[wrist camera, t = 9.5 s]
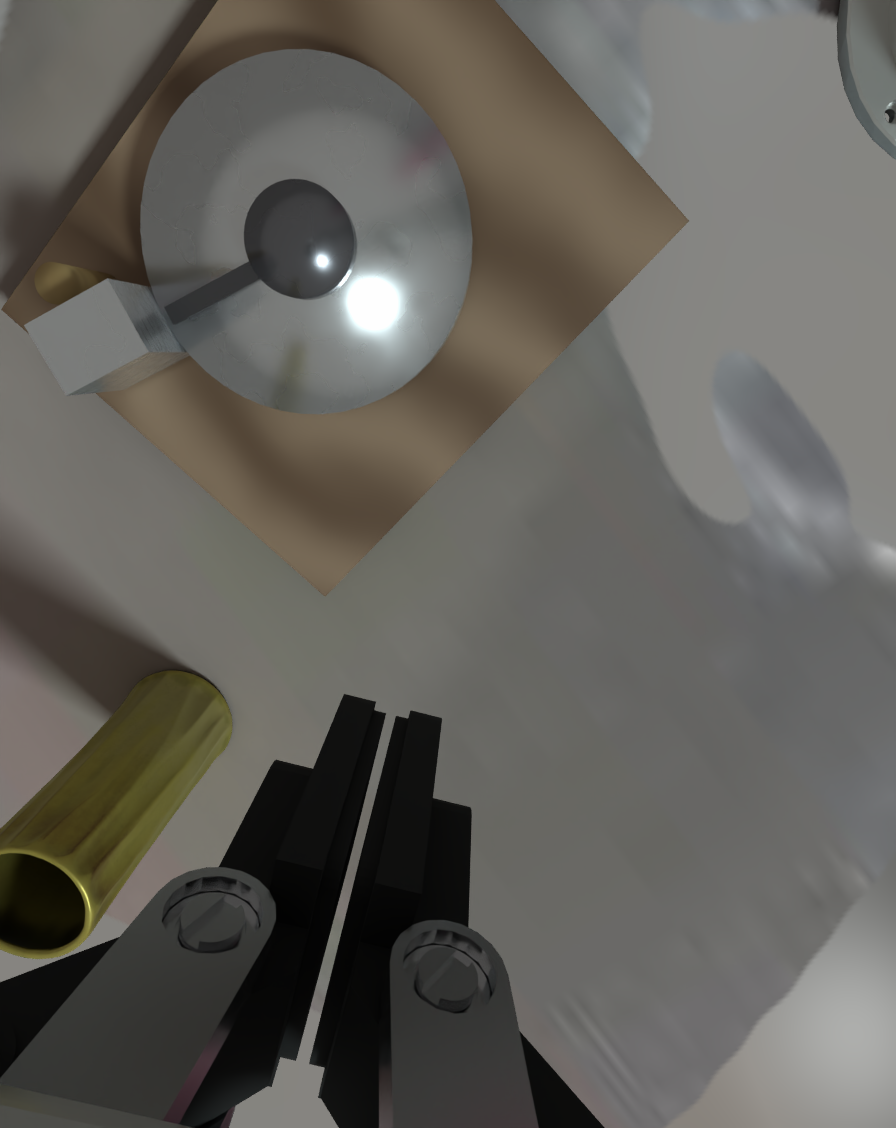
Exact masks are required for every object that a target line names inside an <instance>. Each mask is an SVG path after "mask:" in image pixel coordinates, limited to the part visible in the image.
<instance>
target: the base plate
mask: <svg viewBox="0 0 896 1128" xmlns="http://www.w3.org/2000/svg"><path fill="white" fill-rule="evenodd" d="M284 49H311V50H318V51H324V52H330V53H335V54H338V55H341V56H344V57H347V58H351V59H354V60H356V61H358V62H360V63H363V64H365V65H367V66H369V67H371V68H373V69H375V70H377V71H378V72H380V73H381V74H383V75H384V76H386V77H387V78H389V79H390V80H392V81H393V82H395V83H396V84H398V85H399V86H400V87H401V88H402V89H403V90H404V91H406V92H407V93H408V94H409V95H410V96H411V97H412V98H413V99H414V100H416V102H417V103H418V104H419V105H420V106H421V107H422V109H423V110H424V111H425V112H426V113H427V114H428V116H429V117H430V118H431V119H432V120H433V122H434V123H435V125H436V127H437V128H438V130H439V131H440V133H441V134H442V136H443V137H444V139H445V140H446V142H447V144H448V146H449V148H450V150H451V152H452V154H453V157H454V159H455V161H456V163H457V166H458V168H459V171H460V174H461V177H462V180H463V183H464V186H465V190H466V195H467V199H468V204H469V209H470V217H471V227H472V238H473V246H472V267H471V273H470V280H469V286H468V290H467V293H466V297H465V300H464V304H463V307H462V310H461V312H460V314H459V317H458V319H457V322H456V324H455V326H454V328H453V330H452V332H451V333H450V335H449V337H448V339H447V340H446V342H445V344H444V345H443V347H442V348H441V349H440V351H439V352H438V353H437V354H436V356H435V357H434V358H433V360H432V361H431V362H430V363H429V364H428V365H427V366H426V367H425V368H424V369H423V370H422V371H421V372H420V373H419V374H418V375H417V376H416V377H415V378H413V379H412V380H411V381H409V382H408V383H407V384H405V385H404V386H403V387H402V388H400V389H398V390H396V391H395V392H393V393H391V394H389V395H388V396H386V397H384V398H382V399H380V400H377V401H375V402H372V403H370V404H367V405H365V406H362V407H359V408H355V409H351V410H347V411H344V412H337V413H328V414H299V413H293V412H286V411H280V410H277V409H274V408H270V407H267V406H264V405H260V404H258V403H256V402H254V401H251V400H249V399H247V398H245V397H242V396H241V395H239V394H237V393H236V392H234V391H232V390H231V389H229V388H227V387H226V386H224V385H223V384H221V383H220V382H219V381H217V380H216V379H215V378H214V377H212V376H211V375H210V374H208V373H207V372H206V371H205V370H204V369H203V368H202V367H201V366H200V365H199V364H198V363H197V362H196V361H195V360H194V359H193V358H192V357H191V356H188V357H186V358H184V359H182V360H180V361H178V362H176V363H174V364H172V365H171V366H169V367H167V368H165V369H163V370H161V371H159V372H157V373H155V374H153V375H152V376H150V377H148V378H146V379H144V380H142V381H140V382H138V383H136V384H134V385H132V386H131V387H129V388H127V389H125V390H118V391H109V392H99V393H96V394H97V395H98V396H99V397H101V398H102V399H103V400H104V401H105V402H106V403H107V404H109V405H110V406H111V407H112V408H113V409H114V410H115V411H116V412H118V413H119V414H120V415H121V416H122V417H123V418H124V419H125V420H127V421H128V422H129V423H130V424H131V425H132V426H133V427H134V428H136V429H137V430H138V431H139V432H140V433H141V434H142V435H143V436H145V437H146V438H147V439H148V440H149V441H150V442H151V443H152V444H154V445H155V446H156V447H157V448H158V449H159V450H160V451H161V452H163V453H164V454H165V455H166V456H167V457H168V458H169V459H170V460H172V461H173V462H174V463H175V464H176V465H177V466H178V467H179V468H181V469H182V470H183V471H184V472H185V473H186V474H187V475H189V476H190V477H191V478H192V479H193V480H194V481H195V482H196V483H198V484H199V485H200V486H201V487H202V488H203V489H204V490H205V491H207V492H208V493H209V494H210V495H211V496H212V497H213V498H214V499H216V500H217V501H218V502H219V503H220V504H221V505H222V506H223V507H225V508H226V509H227V510H228V511H229V512H230V513H231V514H232V515H234V516H235V517H236V518H237V519H238V520H239V521H240V522H241V523H243V524H244V525H245V526H246V527H247V528H248V529H249V530H250V531H252V532H253V533H254V534H255V535H256V536H257V537H258V538H260V539H261V540H262V541H263V542H264V543H265V544H266V545H267V546H269V547H270V548H271V549H272V550H273V551H274V552H275V553H276V554H278V555H279V556H280V557H281V558H282V559H283V560H284V561H285V562H287V563H288V564H289V565H290V566H291V567H292V568H293V569H294V570H296V571H297V572H298V573H299V574H300V575H301V576H302V577H303V578H305V579H306V580H307V581H308V582H309V583H310V584H311V585H312V586H314V587H315V588H316V589H317V590H318V591H319V592H320V593H321V594H323V595H324V596H326V595H327V594H328V593H329V592H330V591H331V590H332V589H333V588H334V587H335V586H336V585H337V584H338V583H339V582H340V581H341V580H342V579H343V578H344V577H345V576H346V575H347V574H348V573H349V572H350V571H351V569H352V568H353V567H354V566H355V565H356V564H357V563H358V562H359V561H360V560H361V559H362V558H363V557H364V556H365V555H366V554H367V553H368V552H369V551H370V550H371V549H372V548H373V547H374V546H375V545H376V544H377V543H378V542H379V541H380V540H381V539H382V537H383V536H384V535H385V534H386V533H387V532H388V531H389V530H390V529H391V528H392V527H393V526H394V525H395V524H396V523H397V522H398V521H399V520H400V519H401V518H402V517H403V516H404V515H405V514H406V513H407V512H408V511H409V510H410V509H411V508H412V507H413V505H414V504H415V503H416V502H417V501H418V500H419V499H420V498H421V497H422V496H423V495H424V494H425V493H426V492H427V491H428V490H429V489H430V488H431V487H432V486H433V485H434V484H435V483H436V482H437V481H438V480H439V479H440V478H441V477H442V476H443V475H444V473H445V472H446V471H447V470H448V469H449V468H450V467H451V466H452V465H453V464H454V463H455V462H456V461H457V460H458V459H459V458H460V457H461V456H462V455H463V454H464V453H465V452H466V451H467V450H468V449H469V448H470V447H471V446H472V445H473V444H474V443H475V441H476V440H477V439H478V438H479V437H480V436H481V435H482V434H483V433H484V432H485V431H486V430H487V429H488V428H489V427H490V426H491V425H492V424H493V423H494V422H495V421H496V420H497V419H498V418H499V417H500V416H501V415H502V414H503V413H504V412H505V411H506V410H507V408H508V407H509V406H510V405H511V404H512V403H513V402H514V401H515V400H516V399H517V398H518V397H519V396H520V395H521V394H522V393H523V392H524V391H525V390H526V389H527V388H528V387H529V386H530V385H531V384H532V383H533V382H534V381H535V380H536V379H537V378H538V376H539V375H540V374H541V373H542V372H543V371H544V370H545V369H546V368H547V367H548V366H549V365H550V364H551V363H552V362H553V361H554V360H555V359H556V358H557V357H558V356H559V355H560V354H561V353H562V352H563V351H564V350H565V349H566V348H567V347H568V346H569V344H570V343H571V342H572V341H573V340H574V339H575V338H576V337H577V336H578V335H579V334H580V333H581V332H582V331H583V330H584V329H585V328H586V327H587V326H588V325H589V324H590V323H591V322H592V321H593V320H594V319H595V318H596V317H597V316H598V315H599V314H600V312H601V311H602V310H603V309H604V308H605V307H606V306H607V305H608V304H609V303H610V302H611V301H612V300H613V299H614V298H615V297H616V296H617V295H618V294H619V293H620V292H621V291H622V290H623V289H624V288H625V287H626V286H627V285H628V284H629V283H630V281H631V280H632V279H633V278H634V277H635V276H636V275H637V274H638V273H639V272H640V271H641V270H642V269H643V268H644V267H645V266H646V265H647V264H648V263H649V262H650V261H651V260H652V259H653V258H654V257H655V256H656V255H657V253H659V251H661V250H662V248H663V247H664V246H665V245H666V244H667V243H668V242H669V241H670V240H671V239H672V238H673V237H674V236H675V235H676V234H677V233H678V232H679V231H680V230H681V229H682V228H683V227H684V226H685V225H686V223H688V221H689V220H688V219H687V218H686V217H685V216H684V215H683V213H682V212H681V211H680V210H679V209H678V208H677V207H676V206H675V204H673V202H672V201H671V200H670V199H669V198H668V196H667V195H666V194H665V193H664V192H663V191H662V190H661V189H660V187H659V186H658V185H657V184H656V183H655V182H654V181H653V179H652V178H651V177H650V176H649V175H648V174H647V173H646V172H645V170H644V169H643V168H642V167H641V166H640V165H639V164H638V162H637V161H636V160H635V159H634V158H633V157H632V156H631V154H630V153H629V152H628V151H627V150H626V149H625V148H624V146H623V145H622V144H621V143H620V142H619V141H618V140H617V139H616V137H615V136H614V135H613V134H612V133H611V132H610V131H609V129H608V128H607V127H606V126H605V125H604V124H603V123H602V122H601V120H600V119H599V118H598V117H597V116H596V115H595V114H594V112H593V111H592V110H591V109H590V108H589V107H588V106H587V104H586V103H585V102H584V101H583V100H582V99H581V98H580V97H579V95H578V94H577V93H576V92H575V91H574V90H573V89H572V87H571V86H570V85H569V84H568V83H567V82H566V81H565V80H564V78H563V77H562V76H561V75H560V74H559V73H558V72H557V70H556V69H555V68H554V67H553V66H552V65H551V64H550V63H549V61H548V60H547V59H546V58H545V57H544V56H543V55H542V53H541V52H540V51H539V50H538V49H537V48H536V47H535V45H534V44H533V43H532V42H531V41H530V40H529V39H528V38H527V36H526V35H525V34H524V33H523V32H522V31H521V30H520V28H519V27H518V26H517V25H516V24H515V23H514V22H513V21H512V19H511V18H510V17H509V16H508V15H507V14H506V13H505V11H504V10H503V9H502V8H501V7H500V6H499V5H498V3H497V2H496V1H495V0H218V1H217V2H216V4H215V5H214V7H213V8H212V10H211V11H210V12H209V14H208V15H207V17H206V18H205V20H204V21H203V22H202V24H201V25H200V27H199V28H198V30H197V31H196V32H195V34H194V35H193V37H192V38H191V40H190V41H189V42H188V44H187V45H186V47H185V48H184V49H183V51H182V52H181V54H180V55H179V57H178V58H177V59H176V61H175V62H174V64H173V65H172V67H171V68H170V69H169V71H168V72H167V74H166V75H165V77H164V78H163V79H162V81H161V82H160V84H159V85H158V87H157V88H156V89H155V91H154V92H153V94H152V95H151V97H150V98H149V99H148V101H147V102H146V104H145V105H144V107H143V108H142V109H141V111H140V112H139V114H138V115H137V117H136V118H135V119H134V121H133V122H132V124H131V125H130V126H129V128H128V129H127V131H126V132H125V134H124V135H123V136H122V138H121V139H120V141H119V142H118V144H117V145H116V146H115V148H114V149H113V151H112V152H111V154H110V155H109V156H108V158H107V159H106V161H105V162H104V164H103V165H102V166H101V168H100V169H99V171H98V172H97V174H96V175H95V176H94V178H93V179H92V181H91V182H90V184H89V185H88V186H87V188H86V189H85V191H84V192H83V194H82V195H81V196H80V198H79V199H78V201H77V202H76V203H75V205H74V206H73V208H72V209H71V211H70V212H69V213H68V215H67V216H66V218H65V219H64V221H63V222H62V223H61V225H60V226H59V228H58V229H57V231H56V232H55V233H54V235H53V236H52V238H51V239H50V241H49V242H48V243H47V245H46V246H45V248H44V249H43V251H42V252H41V253H40V255H39V256H38V258H37V259H36V261H35V262H34V263H33V265H32V266H31V268H30V269H29V270H28V272H27V273H26V275H25V276H24V278H23V279H22V280H21V282H20V283H19V285H18V286H17V288H16V289H15V290H14V292H13V293H12V295H11V296H10V298H9V299H8V300H7V302H6V303H5V305H4V306H3V308H2V309H1V310H3V311H4V312H5V313H6V314H7V315H8V316H9V317H10V318H12V319H13V320H14V321H15V322H16V323H17V324H18V325H19V326H21V327H22V328H23V329H24V330H25V331H26V332H27V333H28V331H27V330H26V328H25V326H24V325H25V324H27V323H29V322H30V321H32V320H34V319H36V318H37V317H39V316H41V315H43V314H45V313H46V312H48V311H50V310H52V309H54V308H55V307H57V306H59V305H61V304H63V303H64V302H66V301H68V300H70V299H71V298H73V297H75V296H77V295H79V294H80V293H82V292H84V291H86V290H88V289H89V288H91V287H93V286H95V285H97V284H98V283H100V282H102V281H104V280H105V279H107V278H108V279H113V280H118V281H123V282H128V283H133V284H138V285H143V286H148V287H151V285H150V282H149V279H148V276H147V272H146V267H145V263H144V258H143V253H142V243H141V233H140V218H141V201H142V194H143V187H144V181H145V177H146V174H147V170H148V166H149V163H150V159H151V157H152V154H153V152H154V150H155V147H156V145H157V142H158V140H159V138H160V136H161V134H162V132H163V131H164V129H165V127H166V126H167V124H168V122H169V120H170V119H171V117H172V116H173V115H174V113H175V112H176V111H177V109H178V108H179V107H180V106H181V104H182V103H183V102H184V101H185V99H186V98H187V97H188V96H189V95H190V94H192V93H193V92H194V91H195V90H196V89H197V88H198V87H199V86H200V85H201V84H202V83H203V82H205V81H206V80H208V79H209V78H210V77H212V76H213V75H215V74H216V73H217V72H219V71H220V70H222V69H224V68H226V67H228V66H230V65H232V64H234V63H236V62H238V61H240V60H242V59H245V58H248V57H252V56H255V55H258V54H261V53H265V52H271V51H278V50H284Z"/></svg>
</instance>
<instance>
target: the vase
mask: <svg viewBox="0 0 896 1128" xmlns="http://www.w3.org/2000/svg"><path fill="white" fill-rule="evenodd" d="M231 733H232V717H231V713H230V710H229V707H228V705H227V703H226V701H225V699H224V698H223V696H222V695H221V694H220V692H219V691H218V690H217V689H216V688H215V687H214V686H213V685H211V684H210V683H209V682H207V681H206V680H204V679H202V678H201V677H199V676H196V675H194V674H191V673H187V672H183V671H175V670H170V671H162V672H158V673H155V674H152V675H150V676H147V677H146V678H144V679H142V680H141V681H140V682H139V683H138V684H137V685H136V686H135V687H134V688H133V689H132V691H131V692H130V693H129V695H128V697H127V698H126V699H125V701H124V702H123V703H122V705H121V706H120V707H119V708H118V710H117V711H116V712H115V713H114V714H113V715H112V716H111V717H110V719H109V720H108V721H107V722H106V723H105V724H104V725H103V726H102V727H101V728H100V730H99V731H98V732H97V733H96V734H95V735H94V736H93V737H92V738H91V739H90V741H89V742H88V743H87V744H86V745H85V746H84V747H83V748H82V749H81V750H80V751H79V752H78V753H77V754H76V755H75V756H74V757H73V758H72V759H71V760H70V761H69V762H68V763H67V764H66V765H65V766H64V767H63V768H62V769H61V770H60V771H59V772H58V773H57V774H56V775H55V776H54V777H53V778H52V779H51V780H50V781H49V782H48V783H47V784H46V785H45V786H44V787H43V788H42V789H41V790H40V791H39V792H38V793H37V794H36V795H35V796H34V797H33V798H32V799H31V800H30V801H29V802H28V803H27V804H26V805H25V806H23V807H22V808H21V809H20V810H19V811H18V812H17V813H16V814H15V815H14V816H13V817H12V818H11V819H10V820H9V821H8V822H7V823H6V824H5V825H4V826H3V827H2V828H1V829H0V950H3V951H5V952H8V953H11V954H13V955H17V956H20V957H24V958H32V959H46V958H54V957H59V956H62V955H65V954H67V953H69V952H71V951H73V950H74V949H76V948H77V947H78V946H80V945H81V944H82V943H83V942H84V941H85V940H86V938H87V937H88V936H89V935H90V934H91V932H92V931H93V930H94V928H95V927H96V925H97V923H98V922H99V921H100V919H101V918H102V916H103V915H104V913H105V912H106V910H107V909H108V907H109V906H110V904H111V903H112V902H113V900H114V899H115V897H116V896H117V894H118V893H119V891H120V890H121V888H122V887H123V885H124V884H125V883H126V881H127V880H128V878H129V877H130V875H131V874H132V872H133V871H134V869H135V868H136V867H137V865H138V864H139V862H140V861H141V860H142V858H143V857H144V855H145V854H146V853H147V851H148V850H149V849H150V847H151V846H152V844H153V843H154V842H155V840H156V839H157V838H158V836H159V835H160V833H161V832H162V831H163V829H164V828H165V826H166V825H167V823H168V822H169V821H170V819H171V818H172V816H173V815H174V814H175V812H176V811H177V810H178V808H179V807H180V806H181V804H182V803H183V801H184V800H185V799H186V797H187V796H188V794H189V793H190V792H191V790H192V789H193V788H194V787H195V785H196V784H197V783H198V782H199V780H200V779H201V778H202V776H203V775H204V774H205V773H206V771H207V770H208V768H209V767H210V765H211V764H212V763H213V761H214V760H215V759H216V758H217V757H218V756H219V755H220V754H221V753H222V752H223V751H224V750H225V748H226V747H227V745H228V743H229V740H230V737H231Z"/></svg>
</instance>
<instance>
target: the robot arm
mask: <svg viewBox="0 0 896 1128" xmlns="http://www.w3.org/2000/svg"><path fill="white" fill-rule="evenodd" d="M837 43H838V61H839V66H840V71H841V76H842V80H843V85H844V89H845V92H846V94H847V97H848V99H849V101H850V103H851V106H852V108H853V110H854V113H855V115H856V117H857V119H858V120H859V121H860V123H861V124H862V126H863V127H864V128H865V130H866V131H867V133H868V134H869V135H870V137H871V138H872V140H874V141H875V142H876V143H877V144H878V145H879V146H880V147H881V148H882V149H884V150H885V151H886V152H887V153H888V154H889V155H890V156H892V157H893V158H894V159H896V0H840V7H839V15H838V22H837ZM885 113H887V114H888V115H889V122H887V121H886V118H885ZM375 703H376V702H374V701H370V700H366V699H362V698H358V697H354V696H350V695H346V694H344V696H343V698H342V700H341V703H340V705H339V707H338V710H337V712H336V715H335V717H334V720H333V722H332V724H331V727H330V729H329V732H328V734H327V737H326V739H325V741H324V744H323V746H322V749H321V751H320V754H319V756H318V758H317V761H316V763H315V766H314V768H313V769H312V768H307V767H303V766H299V765H295V764H291V763H287V762H283V761H279V760H275V761H274V762H273V764H272V765H271V767H270V769H269V771H268V773H267V775H266V777H265V779H264V781H263V782H262V784H261V786H260V788H259V790H258V792H257V794H256V796H255V798H254V800H253V802H252V804H251V806H250V808H249V810H248V811H247V813H246V815H245V817H244V819H243V821H242V823H241V825H240V827H239V829H238V831H237V833H236V835H235V837H234V839H233V840H232V842H231V844H230V846H229V848H228V850H227V852H226V854H225V856H224V858H223V860H222V862H221V864H220V866H219V867H206V868H202V869H198V870H193V871H189V872H186V873H184V874H182V875H180V876H178V877H176V878H174V879H172V880H171V881H170V882H169V883H167V884H166V885H165V886H164V887H163V888H162V889H161V890H159V891H158V892H157V894H156V895H155V896H154V897H153V898H152V899H151V901H150V902H149V903H148V904H147V905H146V907H145V908H144V909H143V910H142V911H141V912H140V914H139V915H138V916H137V917H136V918H135V920H134V921H133V922H132V923H131V924H130V925H129V927H128V928H127V929H126V930H125V931H124V933H123V934H122V935H121V936H120V937H118V938H116V939H113V940H110V941H108V942H105V943H102V944H100V945H97V946H94V947H92V948H89V949H87V950H84V951H82V952H79V953H76V954H74V955H71V956H68V957H66V958H63V959H60V960H58V961H55V962H52V963H50V964H47V965H45V966H42V967H39V968H37V969H34V970H32V971H29V972H26V973H24V974H21V975H18V976H16V977H14V978H11V979H8V980H5V981H3V982H0V1128H229V1126H230V1123H231V1120H232V1117H233V1114H234V1111H235V1106H236V1105H237V1104H239V1103H240V1102H242V1101H244V1100H245V1099H247V1098H249V1097H250V1096H252V1095H254V1094H255V1093H257V1092H259V1091H260V1090H262V1089H263V1088H265V1087H267V1086H270V1087H272V1083H273V1080H274V1077H275V1073H276V1070H277V1066H278V1063H279V1059H280V1057H283V1058H287V1059H291V1060H295V1061H296V1058H297V1055H298V1051H299V1047H300V1044H301V1039H302V1036H303V1032H304V1029H305V1025H306V1021H307V1017H308V1014H309V1010H310V1006H311V1002H312V999H313V995H314V991H315V987H316V984H317V980H318V976H319V972H320V969H321V965H322V961H323V957H324V954H325V950H326V946H327V942H328V939H329V935H330V931H331V928H332V924H333V920H334V916H335V913H336V909H337V905H338V901H339V898H340V894H341V890H342V886H343V883H344V879H345V875H346V871H347V868H348V864H349V860H350V856H351V852H352V848H353V844H354V840H355V836H356V832H357V828H358V824H359V820H360V816H361V812H362V808H363V804H364V800H365V796H366V792H367V788H368V784H369V780H370V776H371V772H372V768H373V764H374V760H375V756H376V752H377V748H378V744H379V740H380V736H381V732H382V728H383V724H384V720H385V715H386V713H383V712H379V711H375V710H374V708H375ZM441 723H442V718H439V717H435V716H431V715H427V714H423V713H419V712H415V711H410V714H409V718H408V719H407V718H403V717H399V716H396V718H395V722H394V726H393V730H392V734H391V738H390V742H389V746H388V750H387V754H386V758H385V762H384V766H383V769H382V773H381V777H380V781H379V785H378V789H377V793H376V797H375V801H374V805H373V809H372V813H371V817H370V821H369V825H368V829H367V833H366V836H365V840H364V844H363V848H362V852H361V856H360V860H359V864H358V868H357V872H356V876H355V880H354V884H353V888H352V892H351V897H350V901H349V905H348V909H347V913H346V917H345V921H344V925H343V929H342V933H341V937H340V941H339V945H338V949H337V953H336V957H335V961H334V965H333V969H332V973H331V977H330V981H329V985H328V989H327V994H326V998H325V1002H324V1006H323V1010H322V1014H321V1018H320V1022H319V1026H318V1030H317V1034H316V1038H315V1042H314V1046H313V1050H312V1054H311V1058H310V1064H312V1065H317V1066H321V1067H325V1070H324V1074H323V1078H322V1083H321V1087H320V1092H319V1096H318V1098H321V1099H322V1101H323V1102H324V1104H325V1106H326V1107H327V1109H328V1110H329V1112H330V1114H331V1116H332V1117H333V1119H334V1120H335V1122H336V1124H337V1125H338V1127H339V1128H604V1127H603V1126H602V1124H601V1123H600V1122H599V1121H598V1120H597V1119H596V1118H595V1116H594V1115H593V1114H592V1113H591V1112H590V1111H589V1110H588V1108H587V1107H586V1106H585V1105H584V1104H583V1103H582V1102H581V1100H580V1099H579V1098H578V1097H577V1096H576V1095H575V1094H574V1093H573V1091H572V1090H571V1089H570V1088H569V1087H568V1086H567V1085H566V1083H565V1082H564V1081H563V1080H562V1079H561V1078H560V1077H559V1075H558V1074H557V1073H556V1072H555V1071H554V1070H553V1069H552V1067H551V1066H550V1065H549V1064H548V1063H547V1062H546V1061H545V1060H544V1058H543V1057H542V1056H541V1055H540V1054H539V1053H538V1052H537V1050H536V1049H535V1048H534V1047H533V1046H532V1045H531V1044H530V1042H529V1041H528V1040H527V1039H526V1038H525V1037H524V1036H523V1034H522V1033H521V1032H520V1031H519V1027H518V1022H517V1017H516V1012H515V1007H514V1002H513V997H512V992H511V987H510V982H509V977H508V973H507V971H506V968H505V965H504V962H503V960H502V958H501V957H500V955H499V954H498V952H497V951H496V950H495V948H494V947H493V945H492V944H491V943H489V942H488V941H487V940H486V939H485V938H484V937H482V936H481V935H480V934H479V933H478V932H476V931H474V930H472V929H470V928H468V919H469V885H470V852H471V818H472V814H471V808H470V807H467V806H463V805H459V804H455V803H451V802H447V801H442V800H438V799H434V798H433V791H434V783H435V774H436V766H437V757H438V749H439V740H440V732H441Z"/></svg>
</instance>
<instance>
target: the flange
mask: <svg viewBox="0 0 896 1128" xmlns="http://www.w3.org/2000/svg"><path fill="white" fill-rule="evenodd" d="M140 233H141V243H142V253H143V258H144V263H145V267H146V272H147V276H148V279H149V282H150V285H151V287H148V286H143V285H138V284H133V283H128V282H123V281H118V280H113V279H108V278H107V279H105V280H104V281H102V282H100V283H98V284H97V285H95V286H93V287H91V288H89V289H88V290H86V291H84V292H82V293H80V294H79V295H77V296H75V297H73V298H71V299H70V300H68V301H66V302H64V303H63V304H61V305H59V306H57V307H55V308H54V309H52V310H50V311H48V312H46V313H45V314H43V315H41V316H39V317H37V318H36V319H34V320H32V321H30V322H29V323H27V324H25V325H24V326H25V328H26V330H27V331H28V333H29V335H30V336H31V338H32V340H33V341H34V343H35V345H36V346H37V348H38V350H39V351H40V353H41V355H42V356H43V358H44V360H45V362H46V363H47V365H48V367H49V368H50V370H51V372H52V373H53V375H54V377H55V378H56V380H57V382H58V383H59V385H60V387H61V388H62V390H63V392H64V393H65V395H66V396H70V395H80V394H89V393H99V392H109V391H118V390H125V389H127V388H129V387H131V386H132V385H134V384H136V383H138V382H140V381H142V380H144V379H146V378H148V377H150V376H152V375H153V374H155V373H157V372H159V371H161V370H163V369H165V368H167V367H169V366H171V365H172V364H174V363H176V362H178V361H180V360H182V359H184V358H186V357H188V356H191V357H192V358H193V359H194V360H195V361H196V362H197V363H198V364H199V365H200V366H201V367H202V368H203V369H204V370H205V371H206V372H207V373H208V374H210V375H211V376H212V377H214V378H215V379H216V380H217V381H219V382H220V383H221V384H223V385H224V386H226V387H227V388H229V389H231V390H232V391H234V392H236V393H237V394H239V395H241V396H242V397H245V398H247V399H249V400H251V401H254V402H256V403H258V404H260V405H264V406H267V407H270V408H274V409H277V410H280V411H286V412H293V413H299V414H328V413H337V412H344V411H347V410H351V409H355V408H359V407H362V406H365V405H367V404H370V403H372V402H375V401H377V400H380V399H382V398H384V397H386V396H388V395H389V394H391V393H393V392H395V391H396V390H398V389H400V388H402V387H403V386H404V385H405V384H407V383H408V382H409V381H411V380H412V379H413V378H415V377H416V376H417V375H418V374H419V373H420V372H421V371H422V370H423V369H424V368H425V367H426V366H427V365H428V364H429V363H430V362H431V361H432V360H433V358H434V357H435V356H436V354H437V353H438V352H439V351H440V349H441V348H442V347H443V345H444V344H445V342H446V340H447V339H448V337H449V335H450V333H451V332H452V330H453V328H454V326H455V324H456V322H457V319H458V317H459V314H460V312H461V310H462V307H463V304H464V300H465V297H466V293H467V290H468V286H469V280H470V273H471V267H472V246H473V238H472V227H471V217H470V209H469V204H468V199H467V195H466V190H465V186H464V183H463V180H462V177H461V174H460V171H459V168H458V166H457V163H456V161H455V159H454V157H453V154H452V152H451V150H450V148H449V146H448V144H447V142H446V140H445V139H444V137H443V136H442V134H441V133H440V131H439V130H438V128H437V127H436V125H435V123H434V122H433V120H432V119H431V118H430V117H429V116H428V114H427V113H426V112H425V111H424V110H423V109H422V107H421V106H420V105H419V104H418V103H417V102H416V100H414V99H413V98H412V97H411V96H410V95H409V94H408V93H407V92H406V91H404V90H403V89H402V88H401V87H400V86H399V85H398V84H396V83H395V82H393V81H392V80H390V79H389V78H387V77H386V76H384V75H383V74H381V73H380V72H378V71H377V70H375V69H373V68H371V67H369V66H367V65H365V64H363V63H360V62H358V61H356V60H354V59H351V58H347V57H344V56H341V55H338V54H335V53H330V52H324V51H318V50H311V49H284V50H278V51H271V52H265V53H261V54H258V55H255V56H252V57H248V58H245V59H242V60H240V61H238V62H236V63H234V64H232V65H230V66H228V67H226V68H224V69H222V70H220V71H219V72H217V73H216V74H215V75H213V76H212V77H210V78H209V79H208V80H206V81H205V82H203V83H202V84H201V85H200V86H199V87H198V88H197V89H196V90H195V91H194V92H193V93H192V94H190V95H189V96H188V97H187V98H186V99H185V101H184V102H183V103H182V104H181V106H180V107H179V108H178V109H177V111H176V112H175V113H174V115H173V116H172V117H171V119H170V120H169V122H168V124H167V126H166V127H165V129H164V131H163V132H162V134H161V136H160V138H159V140H158V142H157V145H156V147H155V150H154V152H153V154H152V157H151V159H150V163H149V166H148V170H147V174H146V177H145V181H144V187H143V194H142V201H141V218H140Z"/></svg>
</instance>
